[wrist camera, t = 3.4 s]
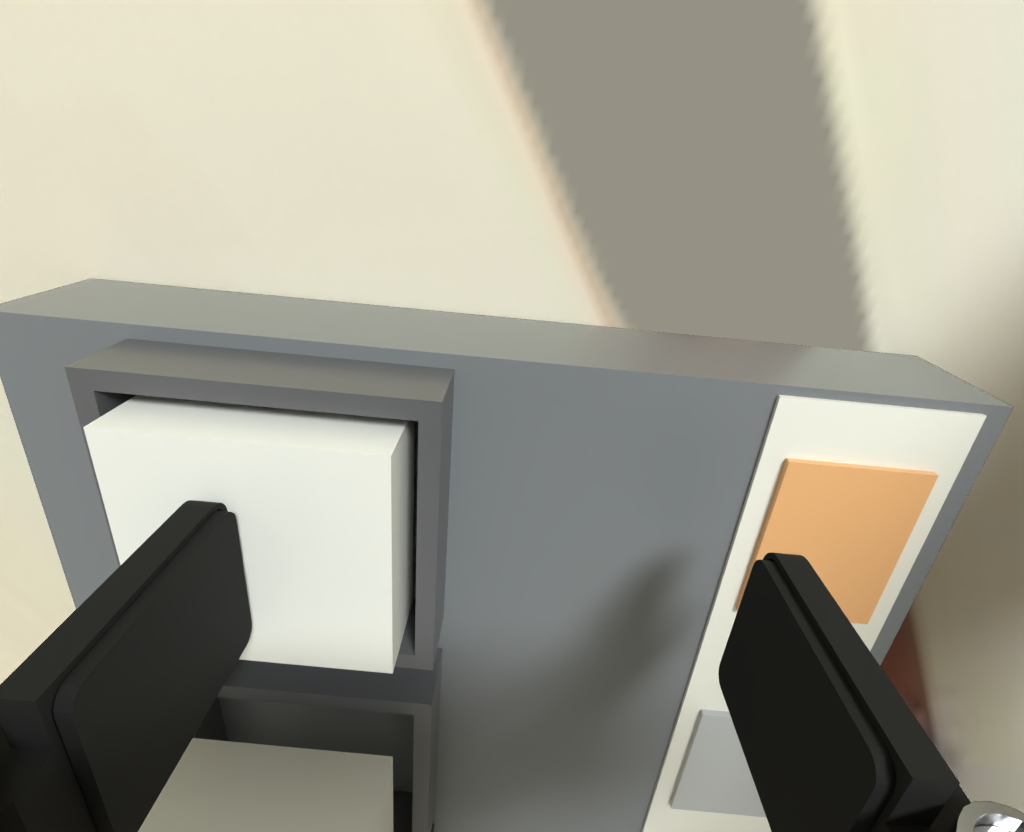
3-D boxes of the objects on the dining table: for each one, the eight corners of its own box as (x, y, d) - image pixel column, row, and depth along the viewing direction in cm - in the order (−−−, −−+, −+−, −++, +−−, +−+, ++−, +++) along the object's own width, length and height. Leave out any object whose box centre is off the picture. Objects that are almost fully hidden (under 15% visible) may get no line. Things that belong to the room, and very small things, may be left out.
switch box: (917, 355, 13) (1087, 445, 9) (705, 865, 23) (743, 1024, 19) (91, 278, 13) (-109, 334, 9) (217, 820, 23) (146, 969, 19)
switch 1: (415, 405, 11) (391, 456, 9) (412, 601, 13) (393, 673, 11) (158, 381, 11) (83, 427, 9) (198, 581, 13) (143, 650, 11)
